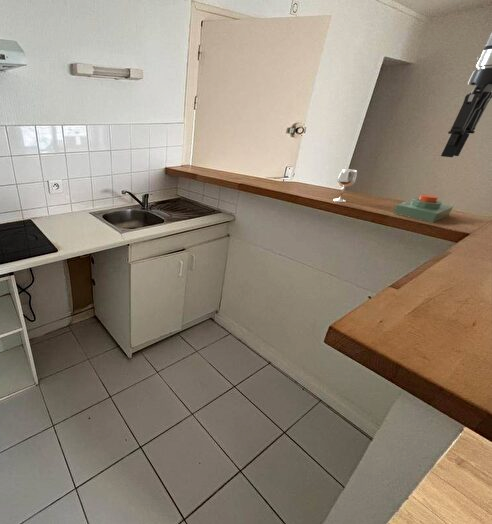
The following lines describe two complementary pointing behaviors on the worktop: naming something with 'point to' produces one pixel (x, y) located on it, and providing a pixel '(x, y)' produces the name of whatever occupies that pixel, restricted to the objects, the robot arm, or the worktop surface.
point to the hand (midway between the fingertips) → (449, 155)
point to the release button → (428, 198)
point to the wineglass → (346, 181)
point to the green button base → (423, 210)
